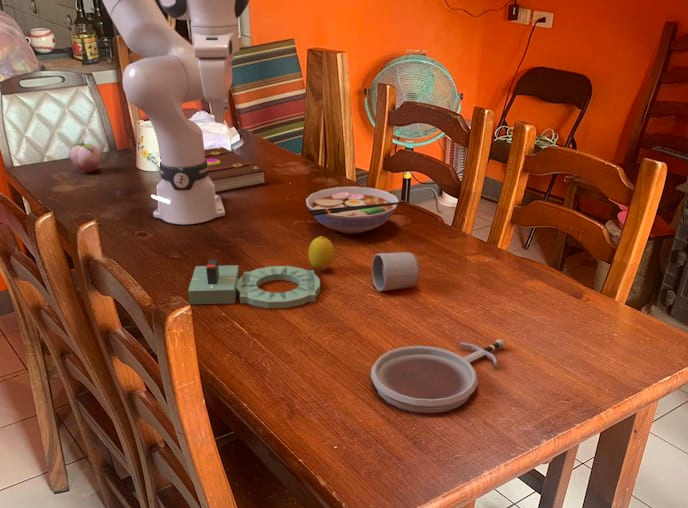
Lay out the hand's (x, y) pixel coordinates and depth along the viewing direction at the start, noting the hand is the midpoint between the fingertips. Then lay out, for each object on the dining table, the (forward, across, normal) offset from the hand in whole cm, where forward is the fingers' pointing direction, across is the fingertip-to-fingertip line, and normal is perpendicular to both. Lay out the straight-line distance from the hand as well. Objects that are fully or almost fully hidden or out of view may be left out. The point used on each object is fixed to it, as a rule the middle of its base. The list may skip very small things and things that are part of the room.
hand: (222, 116), depth 137 cm
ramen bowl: (+31, -18, +28) cm, 46 cm away
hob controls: (+31, +16, -3) cm, 35 cm away
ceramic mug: (+31, +15, +34) cm, 48 cm away
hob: (+31, +16, +10) cm, 36 cm away
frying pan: (+31, +50, +39) cm, 70 cm away
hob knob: (+28, +17, -3) cm, 33 cm away
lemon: (+31, +7, +20) cm, 38 cm away
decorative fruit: (+31, -72, -51) cm, 94 cm away
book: (+31, -65, -12) cm, 73 cm away
